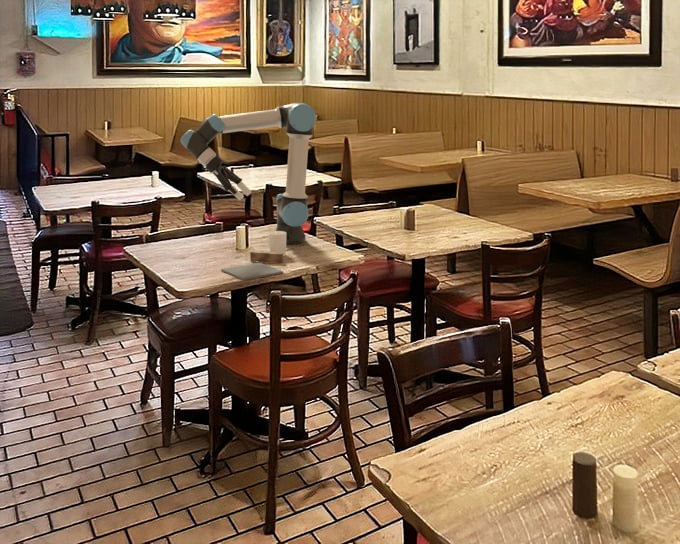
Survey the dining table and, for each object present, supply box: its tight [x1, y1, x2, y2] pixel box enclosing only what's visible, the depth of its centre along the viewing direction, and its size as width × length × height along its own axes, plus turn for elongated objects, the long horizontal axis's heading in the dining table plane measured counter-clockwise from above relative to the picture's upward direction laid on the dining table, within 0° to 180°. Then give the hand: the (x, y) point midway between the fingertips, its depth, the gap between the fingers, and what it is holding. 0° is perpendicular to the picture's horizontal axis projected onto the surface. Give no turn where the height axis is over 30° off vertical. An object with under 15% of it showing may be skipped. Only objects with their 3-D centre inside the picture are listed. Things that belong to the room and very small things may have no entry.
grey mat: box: [221, 262, 284, 281], centre depth 302 cm, size 18×18×1 cm
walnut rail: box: [249, 250, 284, 265], centre depth 318 cm, size 14×2×4 cm, turn 73°
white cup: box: [267, 230, 287, 257], centre depth 329 cm, size 8×8×10 cm
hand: (245, 196), depth 326 cm, fingers open, 13 cm apart
